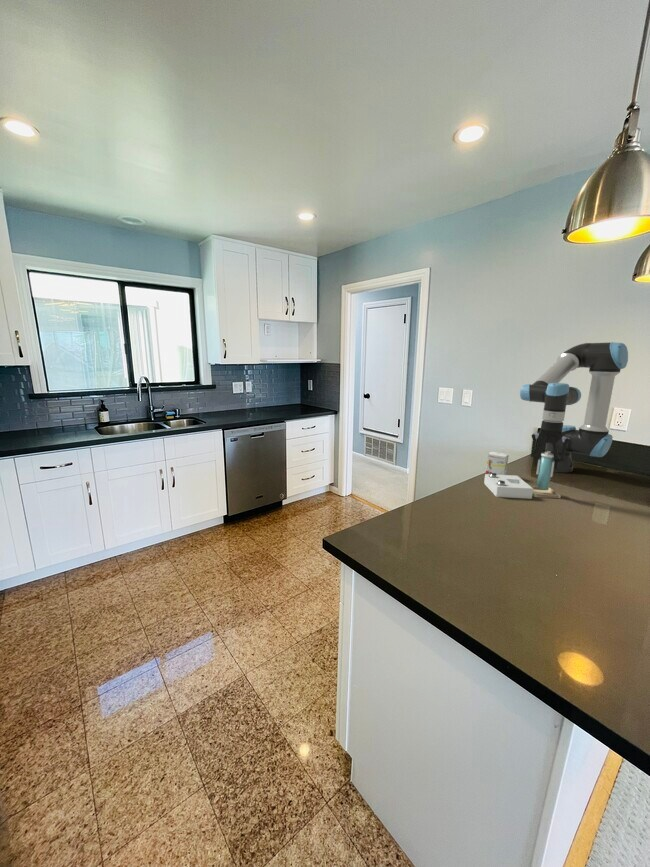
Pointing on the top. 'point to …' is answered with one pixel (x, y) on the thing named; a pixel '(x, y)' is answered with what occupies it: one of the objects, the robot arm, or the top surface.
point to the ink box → (497, 463)
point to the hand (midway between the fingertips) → (544, 474)
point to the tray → (544, 493)
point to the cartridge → (545, 470)
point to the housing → (509, 486)
